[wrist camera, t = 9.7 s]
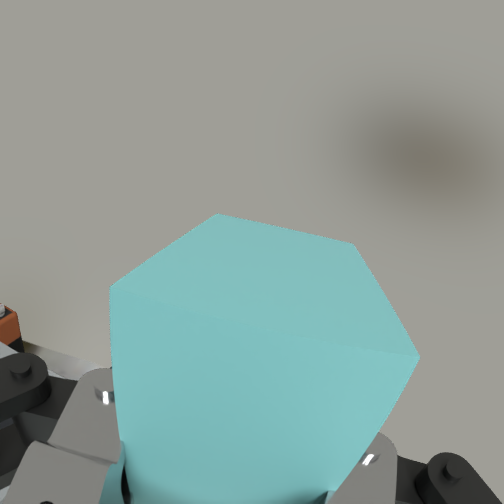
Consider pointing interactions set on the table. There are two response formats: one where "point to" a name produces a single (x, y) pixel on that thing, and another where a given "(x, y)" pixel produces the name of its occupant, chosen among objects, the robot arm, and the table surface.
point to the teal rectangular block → (251, 365)
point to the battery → (10, 329)
